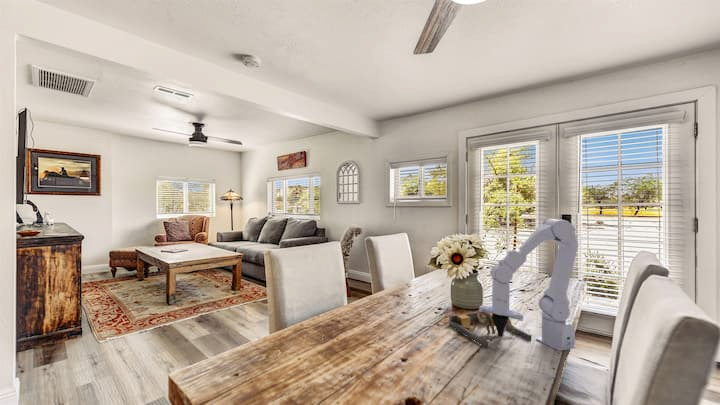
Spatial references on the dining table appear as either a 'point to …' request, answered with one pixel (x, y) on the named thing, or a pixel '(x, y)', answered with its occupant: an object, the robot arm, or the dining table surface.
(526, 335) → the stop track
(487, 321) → the lion figurine
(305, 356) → the dining table surface
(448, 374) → the dining table surface
